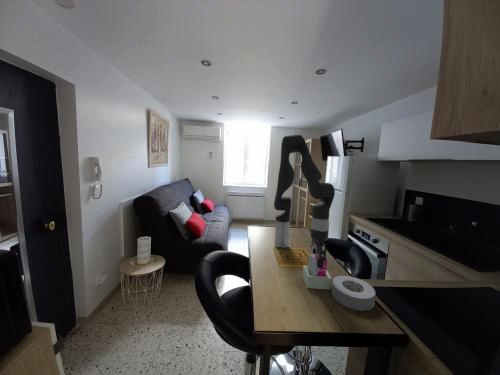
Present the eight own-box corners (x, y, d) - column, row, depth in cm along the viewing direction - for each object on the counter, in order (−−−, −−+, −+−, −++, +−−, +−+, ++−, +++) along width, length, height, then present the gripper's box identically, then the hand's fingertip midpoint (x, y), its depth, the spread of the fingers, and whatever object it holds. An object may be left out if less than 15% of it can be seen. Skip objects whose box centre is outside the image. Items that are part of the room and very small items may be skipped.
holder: (302, 275, 93) (303, 265, 92) (323, 276, 92) (324, 266, 92) (307, 287, 83) (307, 276, 82) (330, 289, 82) (331, 278, 82)
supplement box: (313, 284, 84) (315, 259, 83) (307, 277, 89) (308, 253, 88) (325, 283, 85) (327, 258, 84) (318, 276, 90) (320, 252, 89)
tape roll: (363, 317, 67) (364, 304, 66) (324, 294, 79) (324, 282, 79) (381, 301, 76) (382, 289, 76) (343, 282, 88) (344, 271, 88)
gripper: (307, 222, 93) (305, 255, 94) (315, 232, 78) (312, 270, 80) (323, 223, 92) (321, 256, 94) (334, 233, 78) (331, 271, 79)
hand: (317, 262), depth 87 cm, fingers open, 8 cm apart
